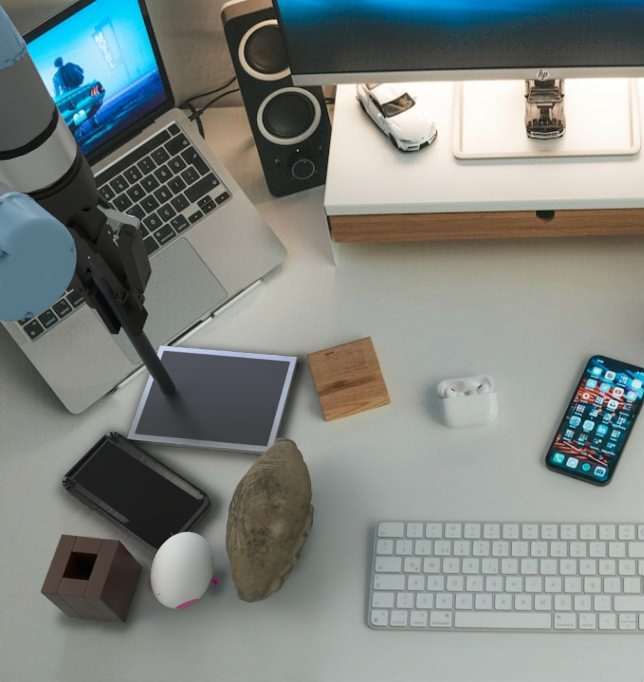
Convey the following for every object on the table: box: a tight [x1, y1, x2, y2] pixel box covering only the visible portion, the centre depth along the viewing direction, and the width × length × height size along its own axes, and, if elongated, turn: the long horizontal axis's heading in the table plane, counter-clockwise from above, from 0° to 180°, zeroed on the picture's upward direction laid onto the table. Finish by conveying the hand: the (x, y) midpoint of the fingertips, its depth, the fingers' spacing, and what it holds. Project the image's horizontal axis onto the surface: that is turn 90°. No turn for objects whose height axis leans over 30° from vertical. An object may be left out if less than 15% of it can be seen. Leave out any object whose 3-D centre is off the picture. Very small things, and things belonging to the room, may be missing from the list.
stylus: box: [91, 267, 176, 395], centre depth 110 cm, size 2×2×22 cm
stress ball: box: [149, 531, 218, 610], centre depth 106 cm, size 8×8×7 cm
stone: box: [225, 437, 315, 603], centre depth 107 cm, size 17×9×8 cm, turn 179°
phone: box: [61, 431, 213, 557], centre depth 113 cm, size 8×1×15 cm
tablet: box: [126, 345, 299, 456], centre depth 119 cm, size 16×12×1 cm
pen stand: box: [39, 533, 143, 624], centre depth 105 cm, size 6×6×7 cm
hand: (129, 323), depth 108 cm, fingers closed on stylus, 1 cm apart
